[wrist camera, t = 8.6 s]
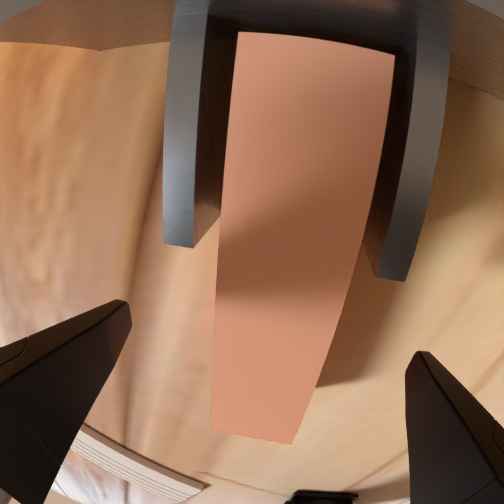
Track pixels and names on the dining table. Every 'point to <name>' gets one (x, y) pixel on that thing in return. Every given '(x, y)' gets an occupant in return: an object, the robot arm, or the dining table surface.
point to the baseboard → (133, 467)
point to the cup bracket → (303, 25)
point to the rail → (291, 220)
